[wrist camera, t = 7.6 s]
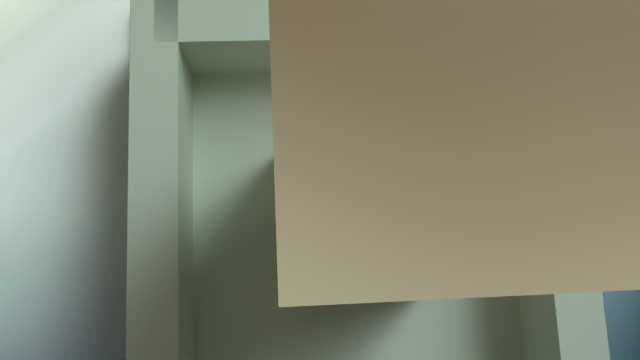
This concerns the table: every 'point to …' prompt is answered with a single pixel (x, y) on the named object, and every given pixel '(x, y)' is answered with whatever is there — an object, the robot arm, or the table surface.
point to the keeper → (269, 223)
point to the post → (454, 148)
